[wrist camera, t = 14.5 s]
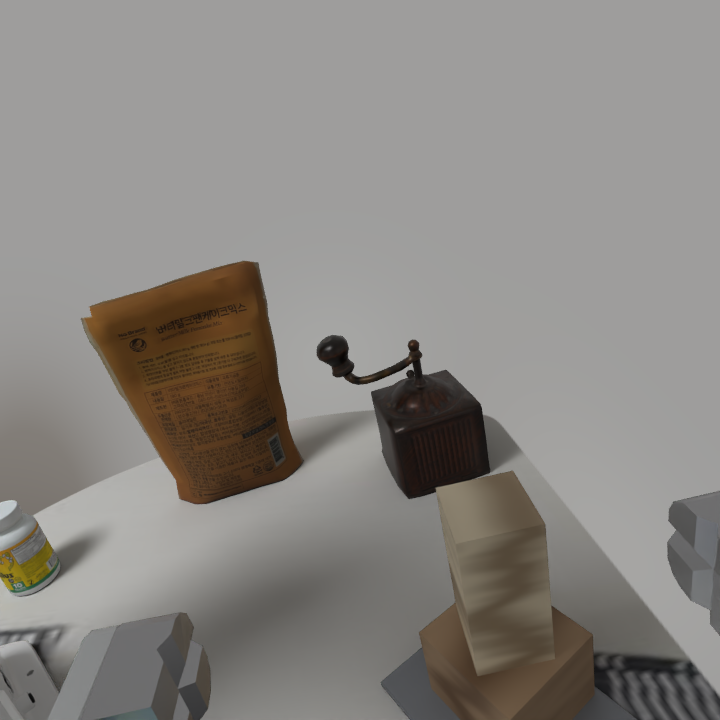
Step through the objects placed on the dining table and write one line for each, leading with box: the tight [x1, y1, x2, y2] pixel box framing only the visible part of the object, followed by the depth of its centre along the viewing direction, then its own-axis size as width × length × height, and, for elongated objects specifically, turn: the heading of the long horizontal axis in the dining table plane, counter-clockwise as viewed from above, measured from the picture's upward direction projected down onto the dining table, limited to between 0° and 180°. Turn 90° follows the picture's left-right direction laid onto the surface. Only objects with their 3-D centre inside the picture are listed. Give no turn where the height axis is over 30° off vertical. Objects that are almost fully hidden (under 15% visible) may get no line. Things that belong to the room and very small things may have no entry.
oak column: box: [436, 471, 555, 676], centre depth 34 cm, size 5×5×11 cm
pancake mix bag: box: [81, 261, 304, 504], centre depth 63 cm, size 7×19×28 cm, turn 103°
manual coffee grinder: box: [317, 335, 490, 499], centre depth 61 cm, size 16×11×18 cm
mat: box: [381, 648, 637, 720], centre depth 37 cm, size 16×11×1 cm
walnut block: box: [419, 603, 595, 720], centre depth 37 cm, size 8×8×6 cm
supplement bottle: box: [0, 500, 60, 596], centre depth 58 cm, size 5×5×10 cm
